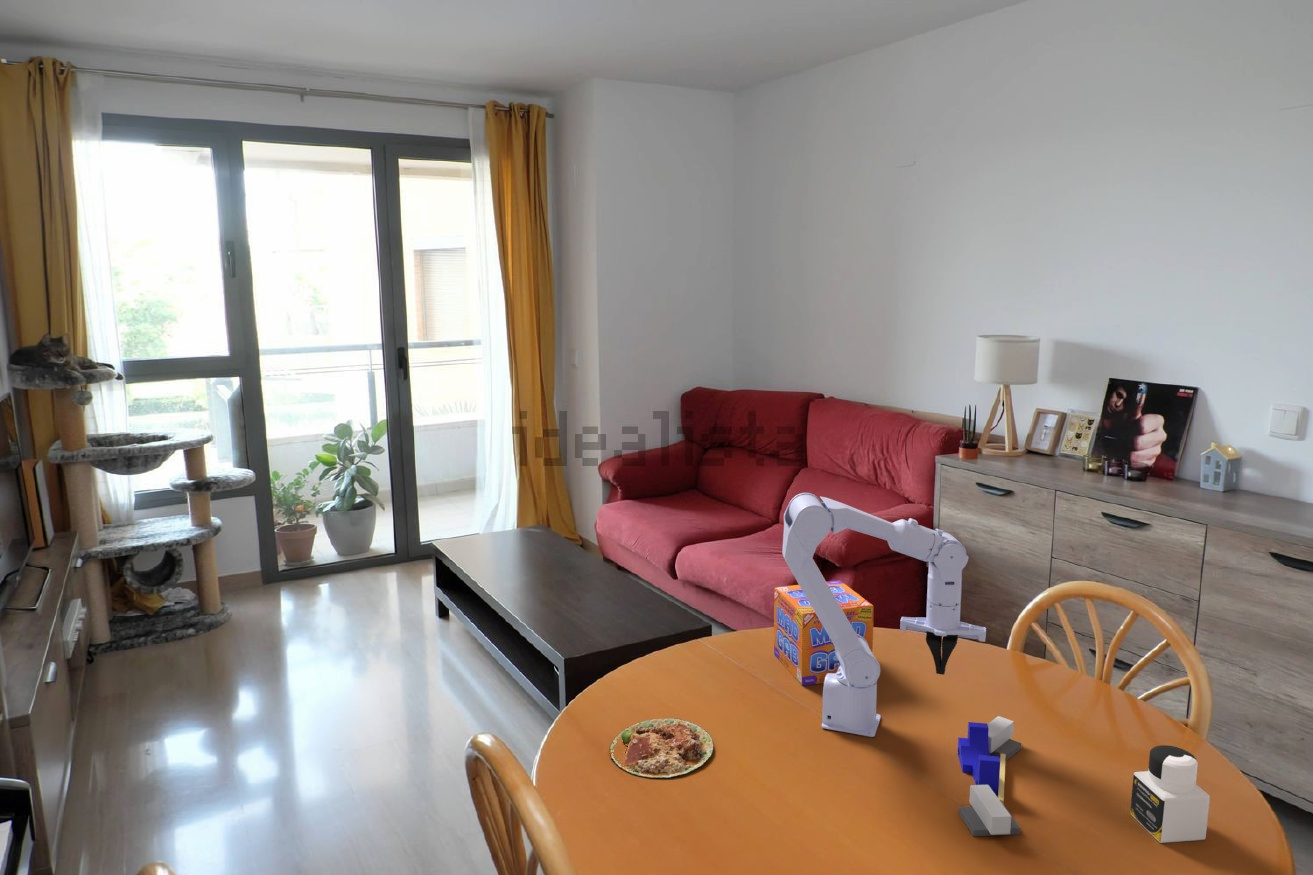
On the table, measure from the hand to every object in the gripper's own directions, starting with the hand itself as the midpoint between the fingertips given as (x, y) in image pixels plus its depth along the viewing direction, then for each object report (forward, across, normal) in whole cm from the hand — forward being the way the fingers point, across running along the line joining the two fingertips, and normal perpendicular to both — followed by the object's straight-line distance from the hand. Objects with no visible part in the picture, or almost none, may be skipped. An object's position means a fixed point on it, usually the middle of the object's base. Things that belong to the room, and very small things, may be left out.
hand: (940, 671), depth 158 cm
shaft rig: (+10, +10, -17) cm, 22 cm away
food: (+10, -44, -27) cm, 52 cm away
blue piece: (+10, +7, -15) cm, 20 cm away
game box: (+10, -25, +16) cm, 31 cm away
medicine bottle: (+10, +34, -20) cm, 41 cm away
